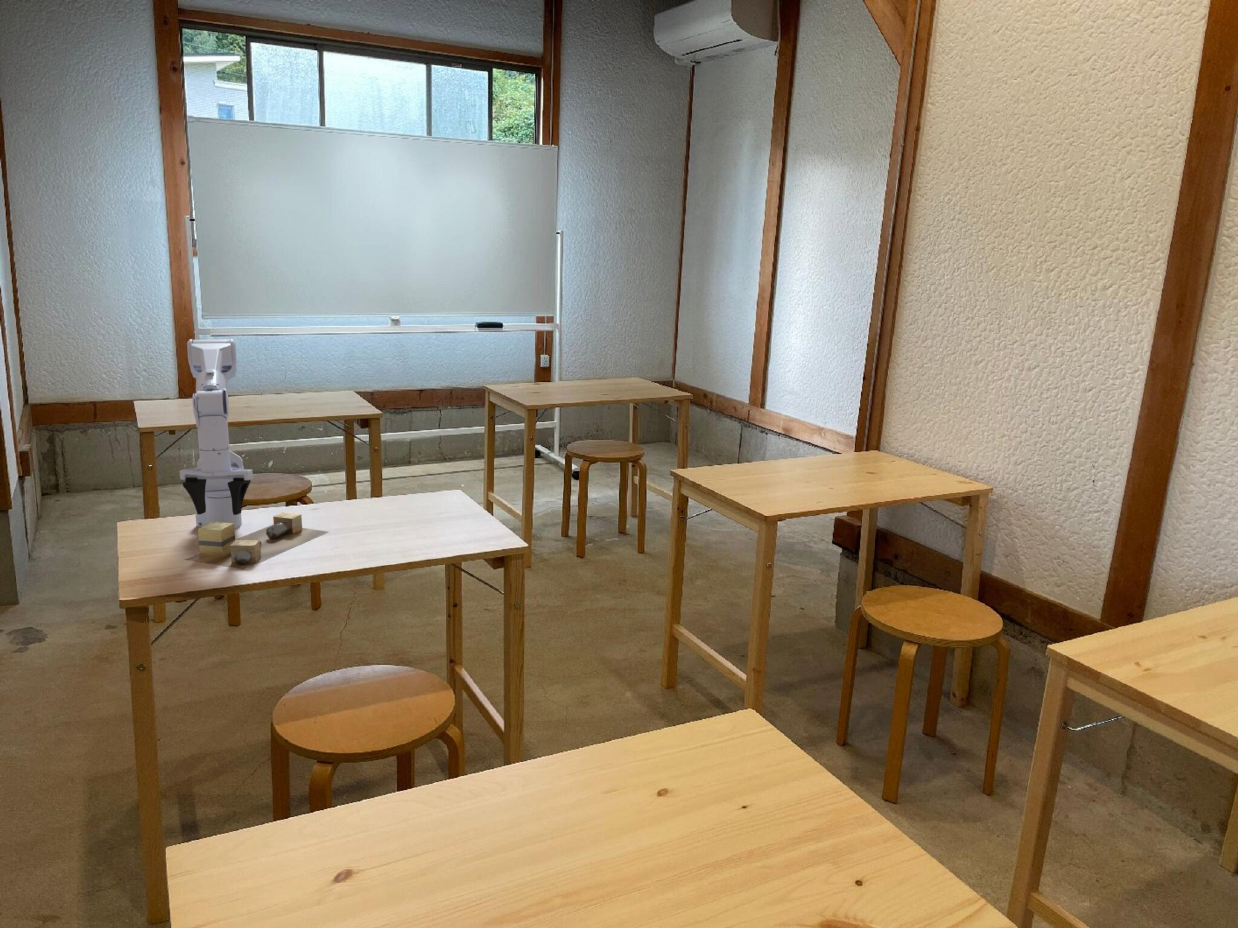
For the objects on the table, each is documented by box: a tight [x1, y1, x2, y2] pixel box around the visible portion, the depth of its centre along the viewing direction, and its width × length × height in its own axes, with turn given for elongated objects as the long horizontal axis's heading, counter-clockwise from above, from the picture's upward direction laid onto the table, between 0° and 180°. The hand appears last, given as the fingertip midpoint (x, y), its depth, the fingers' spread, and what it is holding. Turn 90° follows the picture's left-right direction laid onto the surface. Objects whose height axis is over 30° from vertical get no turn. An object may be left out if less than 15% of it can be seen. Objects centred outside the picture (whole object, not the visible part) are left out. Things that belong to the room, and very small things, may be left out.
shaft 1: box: [230, 538, 262, 565], centre depth 183 cm, size 9×5×4 cm, turn 6°
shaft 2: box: [266, 511, 303, 539], centre depth 199 cm, size 9×5×4 cm, turn 166°
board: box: [184, 523, 329, 570], centre depth 192 cm, size 15×27×1 cm, turn 161°
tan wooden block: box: [197, 522, 236, 558], centre depth 185 cm, size 5×5×6 cm
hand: (219, 513), depth 184 cm, fingers open, 7 cm apart
